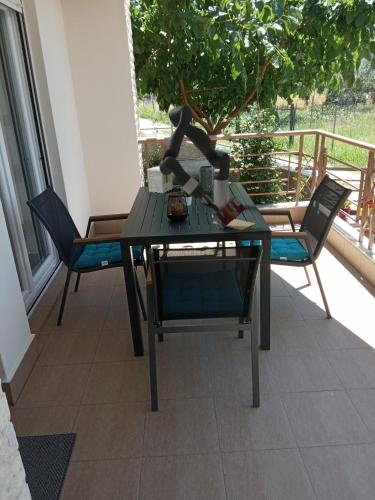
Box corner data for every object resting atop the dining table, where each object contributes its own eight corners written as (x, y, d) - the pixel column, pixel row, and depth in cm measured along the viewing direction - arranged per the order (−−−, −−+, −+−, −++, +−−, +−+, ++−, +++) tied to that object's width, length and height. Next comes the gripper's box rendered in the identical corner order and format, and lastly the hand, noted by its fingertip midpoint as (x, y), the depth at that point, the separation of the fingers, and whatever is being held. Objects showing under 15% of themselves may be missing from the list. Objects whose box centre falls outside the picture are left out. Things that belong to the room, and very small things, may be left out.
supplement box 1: (162, 193, 288) (161, 169, 281) (148, 192, 295) (146, 168, 288) (173, 189, 298) (171, 166, 292) (159, 188, 305) (157, 165, 299)
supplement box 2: (212, 217, 200) (235, 196, 197) (211, 215, 205) (234, 194, 201) (223, 229, 203) (246, 208, 199) (222, 226, 207) (244, 206, 204)
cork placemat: (226, 218, 221) (226, 217, 221) (255, 224, 207) (255, 223, 207) (212, 223, 213) (212, 222, 213) (241, 230, 200) (241, 229, 200)
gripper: (198, 185, 188) (224, 208, 192) (198, 179, 201) (222, 202, 205) (187, 196, 190) (213, 219, 194) (188, 190, 203) (212, 212, 207)
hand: (218, 210), depth 199 cm, fingers closed
